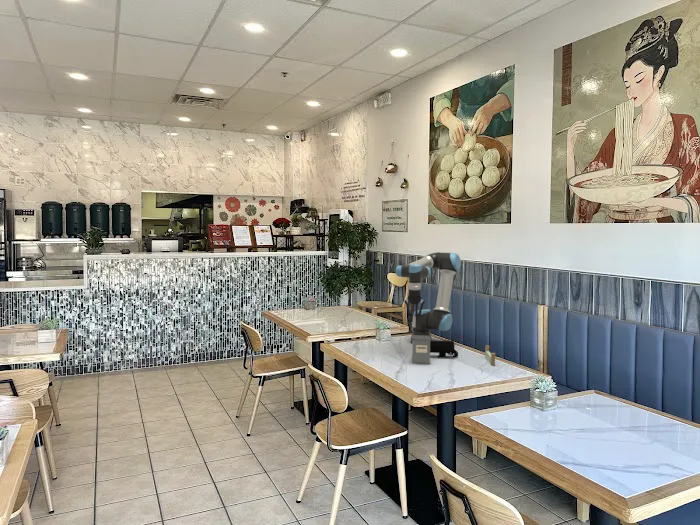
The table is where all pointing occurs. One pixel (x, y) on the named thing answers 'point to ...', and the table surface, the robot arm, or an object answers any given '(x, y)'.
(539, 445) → the table surface
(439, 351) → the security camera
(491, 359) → the backstop
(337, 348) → the table surface
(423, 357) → the box
